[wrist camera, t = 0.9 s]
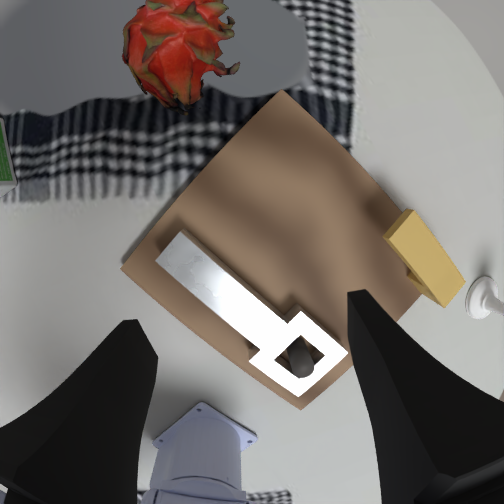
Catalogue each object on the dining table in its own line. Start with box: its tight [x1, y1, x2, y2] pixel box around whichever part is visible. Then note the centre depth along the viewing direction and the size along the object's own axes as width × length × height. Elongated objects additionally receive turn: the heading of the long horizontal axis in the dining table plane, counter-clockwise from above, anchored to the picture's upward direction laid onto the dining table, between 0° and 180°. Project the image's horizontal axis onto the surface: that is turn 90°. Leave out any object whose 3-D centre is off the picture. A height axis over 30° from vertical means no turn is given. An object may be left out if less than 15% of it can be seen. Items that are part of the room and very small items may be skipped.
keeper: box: [382, 209, 466, 308], centre depth 25 cm, size 3×8×4 cm, turn 47°
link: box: [155, 228, 348, 397], centre depth 26 cm, size 17×6×2 cm, turn 47°
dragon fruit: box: [122, 0, 240, 115], centre depth 20 cm, size 8×8×12 cm
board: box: [120, 89, 422, 410], centre depth 25 cm, size 20×22×5 cm
